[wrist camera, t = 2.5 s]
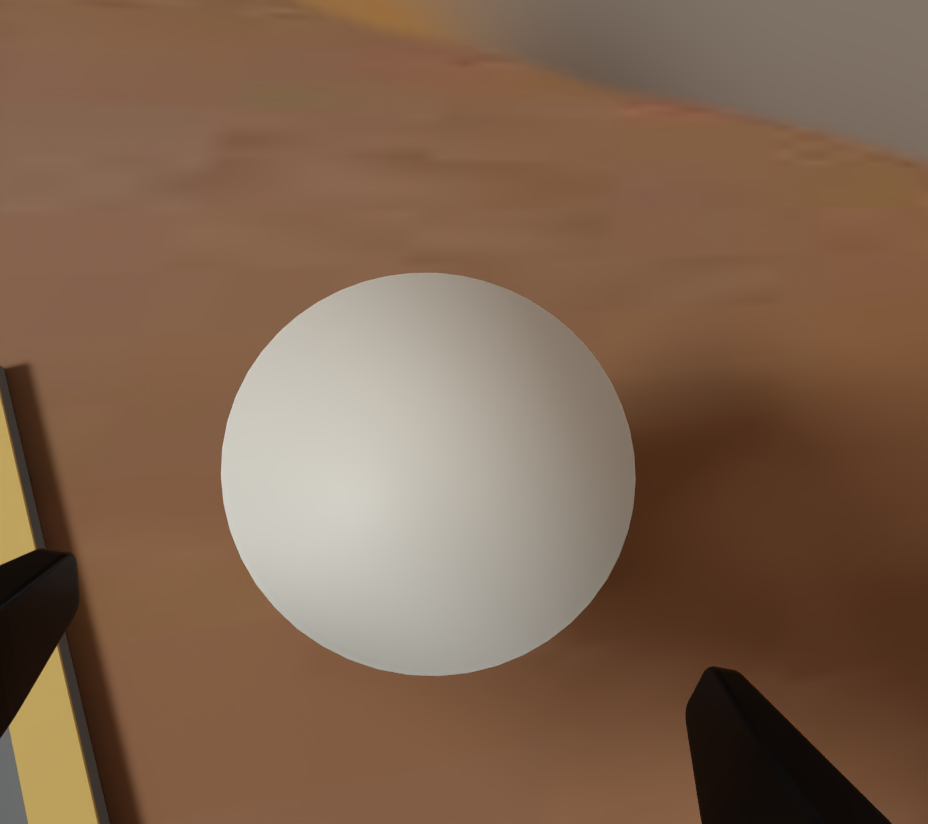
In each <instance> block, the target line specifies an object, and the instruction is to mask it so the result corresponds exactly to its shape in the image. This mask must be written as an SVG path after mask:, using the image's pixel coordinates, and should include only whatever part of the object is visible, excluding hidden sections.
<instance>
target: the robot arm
mask: <svg viewBox="0 0 928 824" xmlns="http://www.w3.org/2000/svg"><path fill="white" fill-rule="evenodd" d="M78 605H79V584H78V573H77V562H76V558H75V556H74V555H73V554H72V553H70V552H66V551H61V550H55V549H49V548H39V549H36V550H33V551H31V552H29V553H27V554H24V555H22V556H20V557H17V558H15V559H13V560H10V561H8V562H6V563H4V564H1V565H0V738H1V737H2V735H3V734H4V733H5V731H6V730H7V728H8V727H9V725H10V724H11V722H12V721H13V719H14V718H15V716H16V714H17V713H18V711H19V709H20V708H21V706H22V705H23V703H24V701H25V700H26V698H27V696H28V694H29V693H30V691H31V689H32V688H33V686H34V684H35V682H36V681H37V679H38V677H39V676H40V674H41V672H42V670H43V669H44V667H45V665H46V664H47V662H48V660H49V659H50V657H51V655H52V653H53V652H54V650H55V648H56V647H57V645H58V643H59V641H60V640H61V638H62V636H63V635H64V633H65V631H66V629H67V628H68V626H69V624H70V623H71V621H72V619H73V617H74V616H75V614H76V611H77V608H78ZM686 726H687V733H688V739H689V745H690V752H691V758H692V765H693V771H694V778H695V784H696V791H697V797H698V804H699V810H700V816H701V822H702V824H892V823H891V822H890V821H889V820H888V819H887V818H886V817H885V816H884V815H883V814H882V813H881V812H880V811H879V810H878V809H877V808H876V807H875V806H874V805H873V804H872V803H871V802H870V801H869V800H868V799H867V798H866V797H865V796H864V795H863V794H862V793H861V792H860V791H859V790H858V789H857V788H856V787H855V786H854V785H853V784H852V783H851V782H850V781H849V780H848V779H847V778H845V777H844V776H843V775H842V774H841V773H840V772H839V771H838V770H837V769H836V768H835V767H834V766H833V765H832V764H831V763H830V762H829V761H828V760H827V759H826V758H825V757H824V756H823V755H822V754H821V753H820V752H819V751H818V750H817V749H816V748H815V747H814V746H813V745H812V744H811V743H810V742H809V741H808V740H807V739H806V738H805V737H804V736H803V735H802V734H801V733H800V732H799V731H798V730H797V729H796V728H795V727H794V726H793V725H792V724H791V723H790V722H789V721H788V720H787V719H786V718H785V717H784V716H783V715H782V714H781V713H780V712H779V711H778V710H777V709H776V708H775V707H774V706H773V705H772V704H771V703H770V702H769V701H768V700H767V699H766V698H765V697H764V696H763V695H762V694H761V693H760V692H759V691H758V690H757V689H756V688H755V687H754V686H753V685H752V684H751V683H750V682H749V681H748V680H747V679H746V678H745V677H744V676H743V675H742V674H740V673H739V672H737V671H735V670H731V669H725V668H720V667H709V668H707V669H706V670H705V671H704V673H703V675H702V677H701V679H700V680H699V682H698V684H697V686H696V688H695V690H694V692H693V694H692V696H691V697H690V699H689V701H688V704H687V707H686Z"/></svg>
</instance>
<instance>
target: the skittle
mask: <svg viewBox="0 0 928 824" xmlns="http://www.w3.org/2000/svg"><path fill="white" fill-rule="evenodd" d="M221 481H222V492H223V502H224V507H225V511H226V516H227V520H228V524H229V528H230V532H231V534H232V537H233V539H234V542H235V544H236V547H237V549H238V552H239V554H240V557H241V559H242V561H243V562H244V564H245V566H246V568H247V569H248V571H249V573H250V575H251V576H252V578H253V580H254V581H255V583H256V585H257V586H258V587H259V588H260V590H261V591H262V592H263V593H264V595H265V596H266V597H267V598H268V600H269V601H270V602H271V604H272V605H273V606H274V607H275V608H276V609H277V610H278V611H279V612H280V613H281V614H282V615H283V616H284V617H285V618H286V619H287V620H288V621H290V622H291V623H292V624H293V625H294V626H295V627H296V628H297V629H299V630H300V631H301V632H303V633H304V634H306V635H307V636H308V637H310V638H311V639H313V640H314V641H316V642H317V643H318V644H320V645H321V646H323V647H325V648H327V649H329V650H331V651H333V652H335V653H337V654H339V655H341V656H343V657H345V658H347V659H349V660H352V661H355V662H358V663H361V664H364V665H367V666H370V667H373V668H376V669H379V670H385V671H390V672H395V673H401V674H406V675H425V676H443V675H453V674H463V673H470V672H474V671H478V670H482V669H486V668H490V667H494V666H498V665H500V664H503V663H505V662H508V661H510V660H512V659H515V658H517V657H520V656H522V655H525V654H526V653H528V652H530V651H531V650H533V649H535V648H537V647H538V646H540V645H542V644H543V643H545V642H547V641H549V640H550V639H551V638H553V637H554V636H555V635H556V634H558V633H559V632H560V631H561V630H563V629H564V628H565V627H566V626H568V625H569V624H570V623H571V622H572V621H573V620H574V619H575V618H576V617H577V616H578V615H579V614H580V613H581V612H582V611H583V610H584V609H585V608H586V607H587V606H588V605H589V604H590V602H591V601H592V600H593V598H594V597H595V596H596V594H597V593H598V591H599V590H600V589H601V587H602V586H603V584H604V583H605V582H606V580H607V578H608V577H609V575H610V573H611V571H612V569H613V567H614V565H615V563H616V561H617V559H618V557H619V555H620V553H621V550H622V547H623V544H624V541H625V539H626V536H627V533H628V530H629V525H630V520H631V516H632V511H633V506H634V495H635V482H636V477H635V458H634V450H633V445H632V439H631V434H630V429H629V426H628V423H627V419H626V416H625V413H624V410H623V407H622V404H621V402H620V400H619V398H618V396H617V393H616V391H615V389H614V387H613V385H612V383H611V381H610V380H609V378H608V376H607V375H606V373H605V371H604V370H603V368H602V366H601V365H600V363H599V362H598V361H597V359H596V358H595V357H594V356H593V354H592V353H591V352H590V350H589V349H588V348H587V347H586V345H585V344H584V343H583V342H582V341H581V340H580V339H579V338H578V337H577V336H576V335H575V334H574V333H573V332H572V331H571V330H570V329H569V328H568V327H567V326H566V325H564V324H563V323H562V322H561V321H559V320H558V319H557V318H556V317H554V316H553V315H552V314H551V313H549V312H548V311H546V310H545V309H543V308H542V307H540V306H538V305H537V304H535V303H534V302H532V301H530V300H529V299H527V298H525V297H523V296H521V295H518V294H516V293H514V292H512V291H510V290H508V289H506V288H503V287H500V286H497V285H494V284H491V283H488V282H486V281H482V280H478V279H473V278H469V277H464V276H460V275H450V274H441V273H408V274H400V275H391V276H385V277H381V278H377V279H373V280H369V281H365V282H362V283H359V284H356V285H353V286H351V287H348V288H345V289H343V290H340V291H338V292H336V293H334V294H332V295H330V296H328V297H326V298H325V299H323V300H321V301H319V302H317V303H316V304H314V305H313V306H311V307H310V308H308V309H307V310H305V311H304V312H302V313H301V314H299V315H298V316H297V317H296V318H295V319H293V320H292V321H291V322H290V323H289V324H288V325H287V326H285V327H284V328H283V329H282V330H281V331H280V332H279V333H278V334H277V335H276V336H275V337H274V338H273V339H272V341H271V342H270V343H269V344H268V345H267V346H266V347H265V349H264V350H263V351H262V352H261V354H260V355H259V357H258V358H257V359H256V361H255V362H254V364H253V365H252V367H251V368H250V370H249V371H248V373H247V375H246V377H245V379H244V381H243V383H242V385H241V387H240V389H239V391H238V393H237V395H236V397H235V400H234V403H233V406H232V409H231V412H230V415H229V418H228V421H227V426H226V431H225V437H224V442H223V447H222V465H221Z"/></svg>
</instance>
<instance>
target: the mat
mask: <svg viewBox="0 0 928 824" xmlns="http://www.w3.org/2000/svg"><path fill="white" fill-rule="evenodd" d="M39 548H46V547H45V543H44V538H43V534H42V530H41V525H40V521H39V517H38V513H37V508H36V504H35V500H34V495H33V491H32V487H31V483H30V478H29V474H28V470H27V465H26V461H25V457H24V453H23V448H22V444H21V440H20V435H19V431H18V427H17V423H16V418H15V414H14V410H13V406H12V401H11V397H10V393H9V388H8V384H7V380H6V376H5V371H4V368H3V367H1V366H0V565H1V564H4V563H6V562H8V561H10V560H13V559H15V558H17V557H20V556H22V555H24V554H27V553H29V552H31V551H33V550H36V549H39ZM0 824H110V821H109V817H108V812H107V808H106V804H105V800H104V795H103V791H102V787H101V782H100V778H99V774H98V770H97V765H96V761H95V757H94V752H93V748H92V744H91V740H90V735H89V731H88V727H87V722H86V718H85V714H84V710H83V705H82V701H81V697H80V692H79V688H78V684H77V680H76V675H75V671H74V667H73V662H72V658H71V654H70V650H69V645H68V641H67V637H66V633H64V635H63V636H62V638H61V640H60V641H59V643H58V645H57V647H56V648H55V650H54V652H53V653H52V655H51V657H50V659H49V660H48V662H47V664H46V665H45V667H44V669H43V670H42V672H41V674H40V676H39V677H38V679H37V681H36V682H35V684H34V686H33V688H32V689H31V691H30V693H29V694H28V696H27V698H26V700H25V701H24V703H23V705H22V706H21V708H20V709H19V711H18V713H17V714H16V716H15V718H14V719H13V721H12V722H11V724H10V725H9V727H8V728H7V730H6V731H5V733H4V734H3V735H2V737H1V738H0Z"/></svg>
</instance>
